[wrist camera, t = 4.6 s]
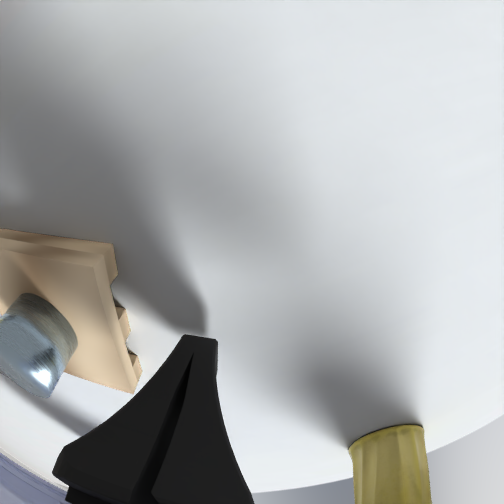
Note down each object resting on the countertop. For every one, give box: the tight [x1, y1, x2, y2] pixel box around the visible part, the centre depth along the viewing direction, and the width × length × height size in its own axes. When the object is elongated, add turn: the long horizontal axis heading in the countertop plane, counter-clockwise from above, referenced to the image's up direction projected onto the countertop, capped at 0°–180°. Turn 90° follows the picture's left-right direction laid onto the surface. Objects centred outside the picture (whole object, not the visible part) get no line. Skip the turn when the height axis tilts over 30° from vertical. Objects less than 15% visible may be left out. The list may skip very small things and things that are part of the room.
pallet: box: [0, 228, 142, 394], centre depth 12 cm, size 8×8×2 cm
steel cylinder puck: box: [0, 293, 78, 398], centre depth 10 cm, size 4×4×3 cm
